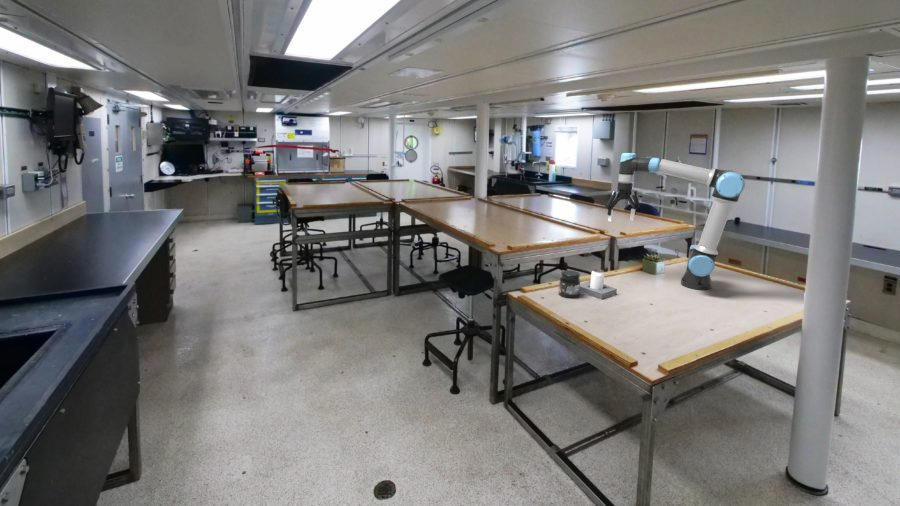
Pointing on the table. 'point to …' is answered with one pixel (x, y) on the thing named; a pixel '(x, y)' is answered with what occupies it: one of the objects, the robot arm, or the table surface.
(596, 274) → the can
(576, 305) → the table surface
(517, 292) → the table surface
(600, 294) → the socket plate
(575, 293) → the supplement container
